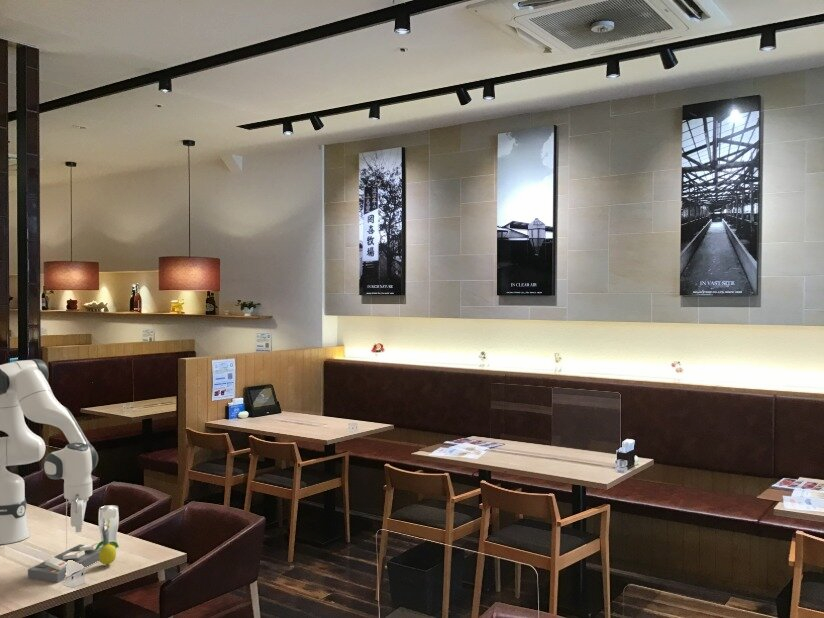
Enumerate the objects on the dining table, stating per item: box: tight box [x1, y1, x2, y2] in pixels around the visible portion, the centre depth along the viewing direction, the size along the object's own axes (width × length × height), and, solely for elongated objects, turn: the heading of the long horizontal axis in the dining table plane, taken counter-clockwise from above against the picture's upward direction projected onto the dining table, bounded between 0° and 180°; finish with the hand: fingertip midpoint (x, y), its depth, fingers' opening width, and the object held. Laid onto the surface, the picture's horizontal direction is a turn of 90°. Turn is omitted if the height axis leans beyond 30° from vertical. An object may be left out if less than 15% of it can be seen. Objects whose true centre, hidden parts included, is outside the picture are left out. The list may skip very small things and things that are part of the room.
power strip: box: [27, 544, 102, 584], centre depth 255 cm, size 12×24×3 cm, turn 163°
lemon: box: [95, 537, 119, 566], centre depth 256 cm, size 7×6×10 cm
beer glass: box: [98, 504, 120, 550], centre depth 272 cm, size 7×7×15 cm
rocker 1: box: [45, 556, 68, 570], centre depth 246 cm, size 6×4×1 cm, turn 74°
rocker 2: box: [63, 551, 85, 560], centre depth 254 cm, size 6×4×1 cm, turn 73°
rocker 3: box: [80, 542, 100, 551], centre depth 262 cm, size 6×4×1 cm, turn 73°
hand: (78, 530), depth 253 cm, fingers closed
